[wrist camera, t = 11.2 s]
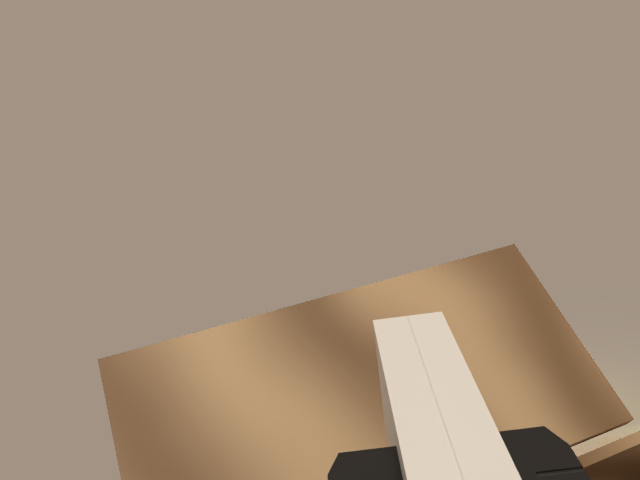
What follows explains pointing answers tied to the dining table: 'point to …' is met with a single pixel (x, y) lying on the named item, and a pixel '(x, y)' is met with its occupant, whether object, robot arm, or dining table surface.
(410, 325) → the robot arm
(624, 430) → the dining table surface
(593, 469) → the wooden open box
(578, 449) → the dining table surface
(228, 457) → the flap
